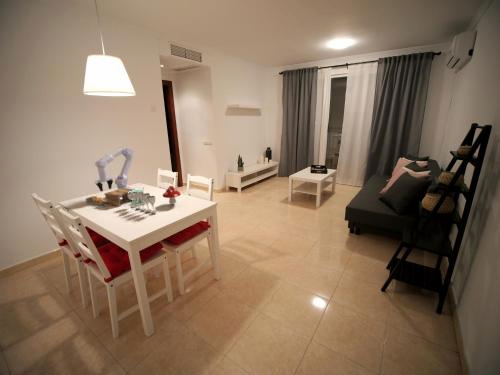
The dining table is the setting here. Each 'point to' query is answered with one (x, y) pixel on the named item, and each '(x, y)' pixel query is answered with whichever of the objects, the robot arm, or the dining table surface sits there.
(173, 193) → the decorative mushroom
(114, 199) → the brown boxy piece
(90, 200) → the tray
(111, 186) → the robot arm
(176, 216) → the dining table surface
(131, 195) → the goblet set
